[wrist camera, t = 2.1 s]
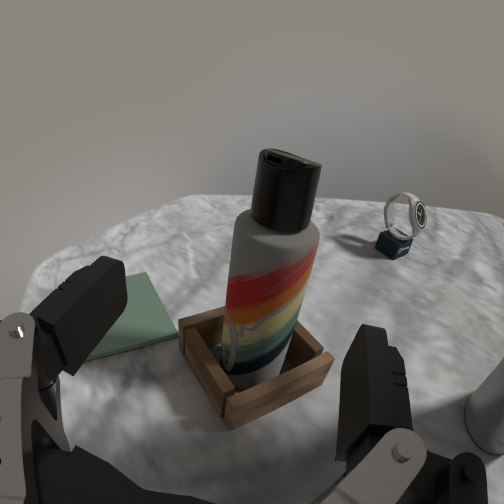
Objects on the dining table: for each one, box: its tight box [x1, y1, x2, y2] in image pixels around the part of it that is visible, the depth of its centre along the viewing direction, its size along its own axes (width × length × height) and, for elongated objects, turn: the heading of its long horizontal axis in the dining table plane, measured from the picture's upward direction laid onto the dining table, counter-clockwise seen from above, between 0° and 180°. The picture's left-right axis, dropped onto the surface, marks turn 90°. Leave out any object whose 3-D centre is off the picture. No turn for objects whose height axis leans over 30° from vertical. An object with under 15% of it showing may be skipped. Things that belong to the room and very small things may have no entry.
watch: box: [375, 192, 427, 260], centre depth 50 cm, size 6×8×11 cm
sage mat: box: [85, 272, 178, 361], centre depth 31 cm, size 11×11×1 cm
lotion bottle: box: [220, 149, 321, 390], centre depth 23 cm, size 6×6×20 cm
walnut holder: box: [178, 306, 335, 431], centre depth 27 cm, size 10×10×4 cm
